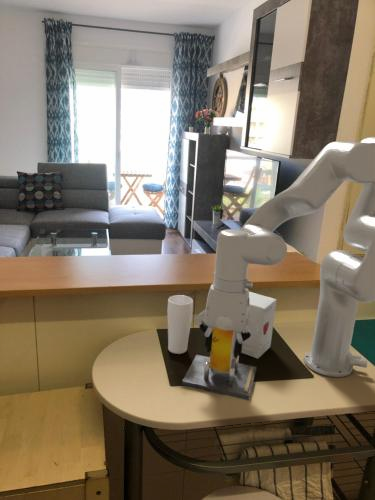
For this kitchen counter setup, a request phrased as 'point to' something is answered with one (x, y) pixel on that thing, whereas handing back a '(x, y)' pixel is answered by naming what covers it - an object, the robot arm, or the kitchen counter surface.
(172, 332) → the drinking glass
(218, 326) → the beer can
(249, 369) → the plate
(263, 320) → the supplement box
